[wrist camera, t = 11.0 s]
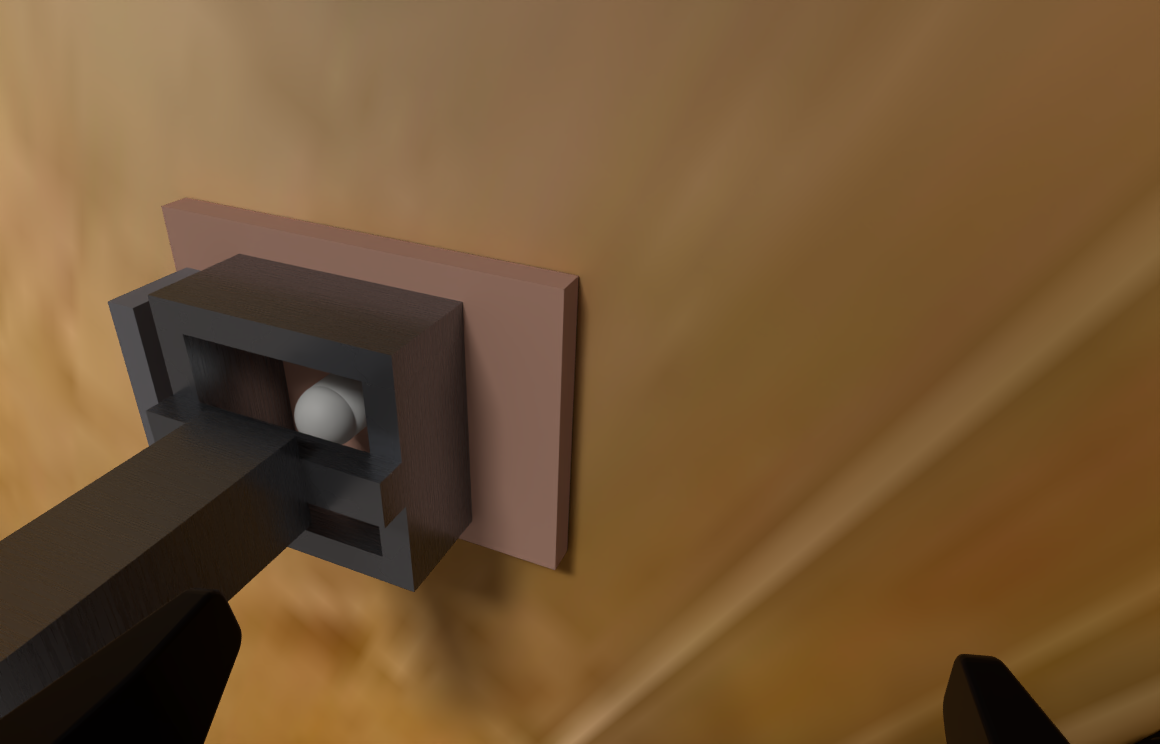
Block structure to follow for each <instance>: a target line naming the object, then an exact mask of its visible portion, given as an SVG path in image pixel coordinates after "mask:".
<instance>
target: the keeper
mask: <svg viewBox="0 0 1160 744" xmlns="http://www.w3.org/2000/svg"><path fill="white" fill-rule="evenodd" d="M161 207H162V211H163V215H164V219H165V224H166V228H167V232H168V237H169V241H170V245H171V249H172V254H173V258H174V262H175V267H176V271H177V272H175V273H172V274H170V275H168V276H166V277H163V278H161V279H159V280H156V281H154V282H152V283H149V284H147V285H145V286H143V287H140V288H138V289H136V290H133V291H131V292H129V293H126V294H124V295H122V296H119V297H117V298H115V299H113V300H110V301H108V305H109V308H110V311H111V315H112V318H113V322H114V325H115V329H116V332H117V336H118V339H119V343H120V346H121V350H122V353H123V357H124V360H125V364H126V367H127V371H128V374H129V378H130V381H131V385H132V388H133V392H134V395H135V399H136V402H137V406H138V409H139V413H140V416H141V419H142V423H143V426H144V430H145V433H146V437H147V440H148V444H149V446H150V445H152V444H153V443H155V442H154V438H153V435H152V431H151V428H150V424H149V421H148V417H147V414H146V410H148V409H150V408H151V407H153V406H155V405H156V404H158V403H160V402H161V401H163V400H165V399H166V398H168V397H170V396H172V395H173V391H172V387H171V383H170V380H169V376H168V372H167V368H166V364H165V360H164V357H163V353H162V349H161V345H160V341H159V338H158V334H157V330H156V326H155V322H154V318H153V315H152V311H151V307H150V303H149V299H148V296H147V295H148V294H150V293H152V292H155V291H157V290H159V289H161V288H164V287H166V286H168V285H170V284H173V283H175V282H177V281H179V280H181V279H184V278H186V277H188V276H190V275H193V274H195V273H197V272H199V271H202V270H204V269H206V268H208V267H211V266H213V265H215V264H217V263H220V262H222V261H224V260H226V259H228V258H231V257H233V256H235V255H237V254H244V255H248V256H253V257H257V258H262V259H267V260H271V261H276V262H281V263H285V264H290V265H294V266H299V267H304V268H308V269H313V270H318V271H322V272H327V273H331V274H336V275H341V276H345V277H350V278H355V279H359V280H364V281H368V282H373V283H378V284H382V285H387V286H392V287H396V288H401V289H405V290H410V291H415V292H419V293H424V294H429V295H433V296H438V297H442V298H447V299H452V300H456V301H461V302H463V319H464V342H465V365H466V388H467V411H468V433H469V456H470V479H471V502H472V522H471V523H470V524H469V526H468V527H467V528H466V529H465V530H464V532H463V533H462V534H461V535H460V537H459V539H462V540H465V541H468V542H471V543H475V544H478V545H481V546H484V547H487V548H490V549H493V550H496V551H499V552H502V553H505V554H508V555H511V556H514V557H517V558H520V559H523V560H526V561H529V562H532V563H535V564H538V565H541V566H544V567H547V568H550V569H553V570H555V569H556V568H557V566H558V565H559V563H560V561H561V560H562V558H563V557H564V555H565V553H566V552H567V544H568V520H569V496H570V472H571V448H572V423H573V399H574V375H575V351H576V327H577V303H578V279H579V276H577V275H572V274H567V273H562V272H557V271H552V270H547V269H542V268H537V267H532V266H527V265H522V264H517V263H512V262H507V261H502V260H496V259H491V258H486V257H481V256H476V255H471V254H466V253H461V252H456V251H451V250H446V249H441V248H436V247H431V246H426V245H421V244H416V243H411V242H406V241H401V240H396V239H391V238H386V237H381V236H376V235H371V234H366V233H361V232H356V231H351V230H346V229H341V228H336V227H331V226H326V225H321V224H316V223H311V222H306V221H301V220H296V219H291V218H286V217H281V216H276V215H271V214H266V213H261V212H256V211H251V210H246V209H241V208H236V207H231V206H226V205H221V204H216V203H211V202H206V201H201V200H196V199H191V198H183V199H180V200H178V201H175V202H172V203H169V204H166V205H163V206H161ZM283 365H284V371H285V377H286V382H287V388H288V394H289V399H290V405H291V411H292V416H293V422H294V428H295V431H298V432H301V433H305V434H308V435H311V436H315V437H318V438H321V439H325V440H328V441H331V442H335V443H338V444H341V445H345V446H348V447H352V448H355V449H358V450H362V451H365V452H368V453H370V447H369V439H368V431H367V422H366V414H365V406H364V397H363V389H362V382H361V381H358V380H354V379H350V378H346V377H343V376H339V375H335V374H331V373H328V372H324V371H320V370H316V369H312V368H309V367H305V366H301V365H297V364H294V363H290V362H286V361H283Z"/></svg>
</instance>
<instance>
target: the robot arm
mask: <svg viewBox="0 0 1160 744" xmlns="http://www.w3.org/2000/svg"><path fill="white" fill-rule="evenodd" d="M241 637H242V634H241V629H240V626H239V624H238V622H237V620H236V618H235V616H234V614H233V612H232V610H231V608H230V606H229V603H228V601H227V599H226V597H225V596H224V594H223V593H222V592H220V591H219V590H215V589H204V588H191V589H188V590H185V591H184V592H182V593H180V594H179V595H177V596H176V597H175V598H173V599H172V600H170V601H169V602H167V603H166V604H164V605H163V606H162V607H160V608H159V609H157V610H156V611H154V612H153V613H152V614H150V615H149V616H147V617H146V618H144V619H143V620H141V621H140V622H139V623H137V624H136V625H134V626H133V627H131V628H130V629H129V630H127V631H126V632H124V633H123V634H121V635H120V636H119V637H117V638H116V639H114V640H113V641H111V642H110V643H108V644H107V645H106V646H104V647H103V648H101V649H100V650H98V651H97V652H96V653H94V654H93V655H91V656H90V657H88V658H87V659H85V660H84V661H83V662H81V663H80V664H78V665H77V666H75V667H74V668H73V669H71V670H70V671H68V672H67V673H65V674H64V675H62V676H61V677H60V678H58V679H57V680H55V681H54V682H52V683H51V684H50V685H48V686H47V687H45V688H44V689H42V690H41V691H40V692H38V693H37V694H35V695H34V696H32V697H31V698H29V699H28V700H27V701H25V702H24V703H22V704H21V705H19V706H18V707H17V708H15V709H14V710H12V711H11V712H9V713H8V714H6V715H5V716H4V717H2V718H1V719H0V744H204V742H205V739H206V737H207V734H208V731H209V729H210V726H211V723H212V721H213V718H214V715H215V713H216V710H217V708H218V705H219V702H220V700H221V697H222V694H223V692H224V689H225V686H226V684H227V681H228V678H229V676H230V673H231V670H232V668H233V665H234V663H235V660H236V657H237V655H238V652H239V649H240V645H241ZM943 718H944V726H945V734H946V741H947V744H1070V743H1069V742H1068V741H1067V739H1066V738H1065V737H1064V736H1063V734H1062V733H1061V732H1060V731H1059V730H1058V728H1057V727H1056V726H1055V725H1054V724H1053V722H1052V721H1051V720H1050V719H1049V718H1048V716H1047V715H1046V714H1045V713H1044V711H1043V710H1042V709H1041V708H1040V707H1039V705H1038V704H1037V703H1036V702H1035V701H1034V699H1033V698H1032V697H1031V696H1030V694H1029V693H1028V692H1027V691H1026V690H1025V688H1024V687H1023V686H1022V685H1021V684H1020V682H1019V681H1018V680H1017V679H1016V678H1015V676H1014V675H1013V674H1012V673H1011V671H1010V670H1009V669H1008V668H1007V667H1006V665H1005V664H1004V663H1003V662H1002V661H1000V660H999V659H997V658H996V657H992V656H983V655H972V654H960V655H959V656H958V657H957V658H956V659H955V661H954V664H953V668H952V671H951V675H950V678H949V682H948V685H947V689H946V692H945V695H944V701H943ZM1136 744H1160V732H1158V733H1156V734H1154V735H1152V736H1150V737H1148V738H1146V739H1144V740H1142V741H1140V742H1138V743H1136Z"/></svg>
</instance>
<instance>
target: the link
mask: <svg viewBox="0 0 1160 744" xmlns="http://www.w3.org/2000/svg"><path fill="white" fill-rule="evenodd" d="M147 296H148V299H149V303H150V307H151V311H152V315H153V318H154V322H155V326H156V330H157V334H158V338H159V341H160V345H161V349H162V353H163V357H164V360H165V364H166V368H167V372H168V376H169V380H170V383H171V387H172V391H173V395H172V396H170V397H168V398H166V399H165V400H163V401H161V402H160V403H158V404H156V405H155V406H153V407H151V408H150V409H148V410H146V414H147V417H148V421H149V424H150V428H151V431H152V435H153V438H154V442H155V443H153V444H152V445H150V446H149V447H147V448H146V449H144V450H142V451H141V452H139V453H138V454H136V455H135V456H133V457H132V458H130V459H128V460H127V461H125V462H124V463H122V464H121V465H119V466H117V467H116V468H114V469H113V470H111V471H110V472H108V473H106V474H105V475H103V476H102V477H100V478H99V479H97V480H95V481H94V482H92V483H91V484H89V485H88V486H86V487H84V488H83V489H81V490H80V491H78V492H77V493H75V494H73V495H72V496H70V497H69V498H67V499H66V500H64V501H62V502H61V503H59V504H58V505H56V506H55V507H53V508H51V509H50V510H48V511H47V512H45V513H44V514H42V515H41V516H39V517H37V518H36V519H34V520H33V521H31V522H30V523H28V524H26V525H25V526H23V527H22V528H20V529H19V530H17V531H15V532H14V533H12V534H11V535H9V536H8V537H6V538H4V539H3V540H1V541H0V719H1V718H2V717H4V716H5V715H6V714H8V713H9V712H11V711H12V710H14V709H15V708H17V707H18V706H19V705H21V704H22V703H24V702H25V701H27V700H28V699H29V698H31V697H32V696H34V695H35V694H37V693H38V692H40V691H41V690H42V689H44V688H45V687H47V686H48V685H50V684H51V683H52V682H54V681H55V680H57V679H58V678H60V677H61V676H62V675H64V674H65V673H67V672H68V671H70V670H71V669H73V668H74V667H75V666H77V665H78V664H80V663H81V662H83V661H84V660H85V659H87V658H88V657H90V656H91V655H93V654H94V653H96V652H97V651H98V650H100V649H101V648H103V647H104V646H106V645H107V644H108V643H110V642H111V641H113V640H114V639H116V638H117V637H119V636H120V635H121V634H123V633H124V632H126V631H127V630H129V629H130V628H131V627H133V626H134V625H136V624H137V623H139V622H140V621H141V620H143V619H144V618H146V617H147V616H149V615H150V614H152V613H153V612H154V611H156V610H157V609H159V608H160V607H162V606H163V605H164V604H166V603H167V602H169V601H170V600H172V599H173V598H175V597H176V596H177V595H179V594H180V593H182V592H184V591H185V590H188V589H191V588H204V589H215V590H219V591H220V592H222V593H223V594H224V596H225V597H226V599H227V601H229V600H230V599H231V598H232V597H233V596H234V595H235V594H237V593H238V592H239V591H240V590H241V589H242V588H243V587H244V586H245V585H246V584H247V583H249V582H250V581H251V580H252V579H253V578H254V577H255V576H256V575H257V574H258V573H259V572H260V571H262V570H263V569H264V568H265V567H266V566H267V565H268V564H269V563H270V562H271V561H272V560H273V559H275V558H276V557H277V556H278V555H279V554H280V553H281V552H282V551H283V550H284V549H285V548H286V547H290V548H292V549H295V550H298V551H301V552H304V553H306V554H309V555H312V556H315V557H318V558H320V559H323V560H326V561H329V562H332V563H334V564H337V565H340V566H343V567H346V568H348V569H351V570H354V571H357V572H360V573H362V574H365V575H368V576H371V577H374V578H376V579H379V580H382V581H385V582H388V583H390V584H393V585H396V586H399V587H402V588H404V589H407V590H410V591H413V592H415V590H416V589H417V588H418V587H419V586H420V584H421V583H422V582H423V581H424V579H425V578H426V577H427V576H428V575H429V573H430V572H431V571H432V570H433V568H434V567H435V566H436V565H437V564H438V562H439V561H440V560H441V559H442V557H443V556H444V555H445V554H446V553H447V551H448V550H449V549H450V548H451V546H452V545H453V544H454V543H455V542H456V540H457V539H458V538H459V537H460V535H461V534H462V533H463V532H464V530H465V529H466V528H467V527H468V526H469V524H470V523H471V522H472V502H471V479H470V456H469V433H468V411H467V388H466V365H465V342H464V319H463V302H461V301H456V300H452V299H447V298H442V297H438V296H433V295H429V294H424V293H419V292H415V291H410V290H405V289H401V288H396V287H392V286H387V285H382V284H378V283H373V282H368V281H364V280H359V279H355V278H350V277H345V276H341V275H336V274H331V273H327V272H322V271H318V270H313V269H308V268H304V267H299V266H294V265H290V264H285V263H281V262H276V261H271V260H267V259H262V258H257V257H253V256H248V255H244V254H237V255H235V256H233V257H231V258H228V259H226V260H224V261H222V262H220V263H217V264H215V265H213V266H211V267H208V268H206V269H204V270H202V271H199V272H197V273H195V274H193V275H190V276H188V277H186V278H184V279H181V280H179V281H177V282H175V283H173V284H170V285H168V286H166V287H164V288H161V289H159V290H157V291H155V292H152V293H150V294H148V295H147ZM283 361H286V362H290V363H294V364H297V365H301V366H305V367H309V368H312V369H316V370H320V371H324V372H328V373H331V374H335V375H339V376H343V377H346V378H350V379H354V380H358V381H361V382H362V389H363V397H364V406H365V414H366V422H367V431H368V439H369V447H370V453H368V452H365V451H362V450H358V449H355V448H352V447H348V446H345V445H341V444H338V443H335V442H331V441H328V440H325V439H321V438H318V437H315V436H311V435H308V434H305V433H301V432H298V431H295V428H294V422H293V416H292V411H291V405H290V399H289V394H288V388H287V382H286V377H285V371H284V365H283Z"/></svg>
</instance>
